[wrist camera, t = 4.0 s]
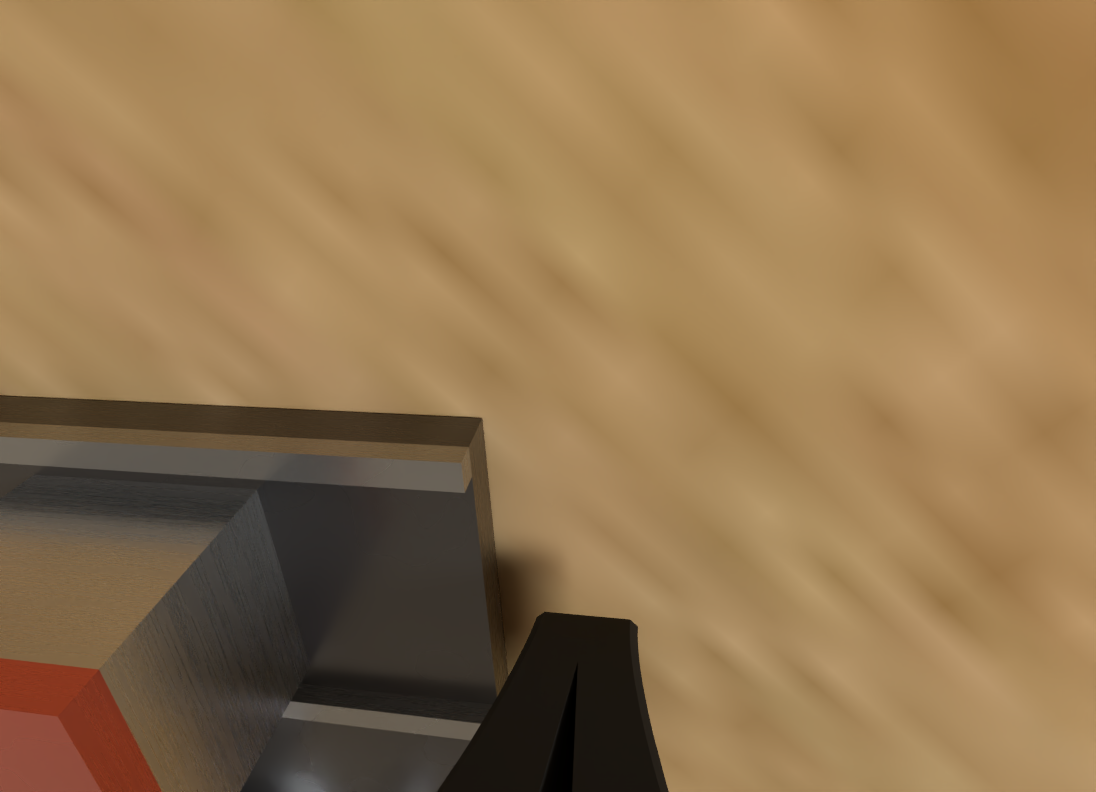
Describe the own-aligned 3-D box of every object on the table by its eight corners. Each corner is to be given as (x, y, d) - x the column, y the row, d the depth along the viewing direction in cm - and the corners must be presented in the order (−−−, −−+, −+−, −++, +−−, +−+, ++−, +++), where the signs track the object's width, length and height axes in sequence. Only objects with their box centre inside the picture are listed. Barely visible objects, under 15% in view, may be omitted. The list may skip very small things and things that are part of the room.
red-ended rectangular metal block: (257, 489, 11) (58, 716, 7) (310, 666, 13) (173, 913, 9) (33, 474, 11) (-250, 676, 8) (116, 645, 13) (-81, 868, 10)
